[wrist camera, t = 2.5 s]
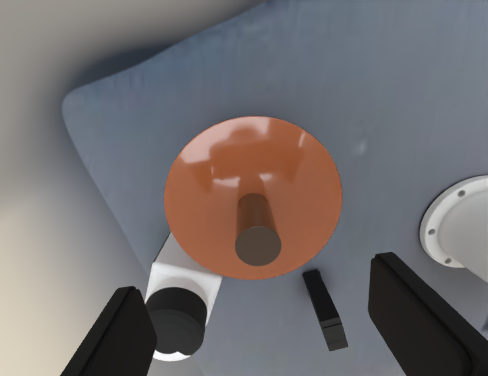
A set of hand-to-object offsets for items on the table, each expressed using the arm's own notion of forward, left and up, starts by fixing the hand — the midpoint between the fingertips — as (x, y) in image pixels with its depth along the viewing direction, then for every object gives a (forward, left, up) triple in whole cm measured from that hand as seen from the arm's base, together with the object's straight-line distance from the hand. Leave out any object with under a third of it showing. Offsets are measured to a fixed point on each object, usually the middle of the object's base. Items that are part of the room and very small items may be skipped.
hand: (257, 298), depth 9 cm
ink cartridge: (-7, +18, -19) cm, 27 cm away
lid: (0, 0, -9) cm, 9 cm away
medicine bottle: (+9, +11, -19) cm, 23 cm away
